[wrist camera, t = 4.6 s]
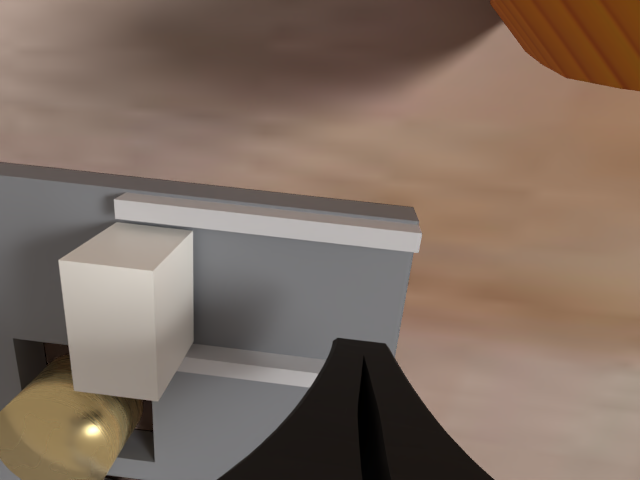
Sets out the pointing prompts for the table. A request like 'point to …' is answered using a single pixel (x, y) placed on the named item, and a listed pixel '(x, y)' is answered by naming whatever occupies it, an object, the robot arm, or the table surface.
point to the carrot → (579, 37)
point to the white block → (129, 309)
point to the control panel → (209, 299)
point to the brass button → (64, 428)
